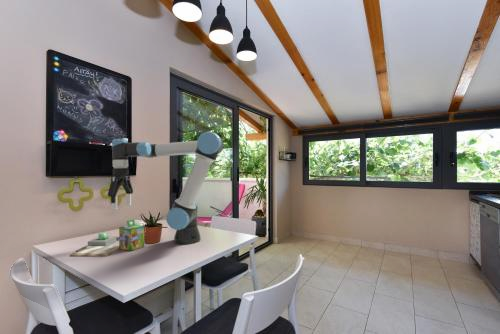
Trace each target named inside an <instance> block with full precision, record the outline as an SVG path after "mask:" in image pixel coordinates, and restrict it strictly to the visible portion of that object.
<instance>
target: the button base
mask: <svg viewBox="0 0 500 334" xmlns="http://www.w3.org/2000/svg"><path fill="white" fill-rule="evenodd" d="M114 242H115V243H116V242H117V236H110V235H109V236H107V239H106V240H98V236H97V237H95V238H93V239H90V240H88V241H87V246H108V245H109V246H111V245H112V243H113V244H114ZM110 244H111V245H110Z"/></svg>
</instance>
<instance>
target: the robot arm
mask: <svg viewBox="0 0 500 334" xmlns="http://www.w3.org/2000/svg"><path fill="white" fill-rule="evenodd" d="M224 145H225V144H224V140H223V139H222V138H221V137H220V136H219V135H218V134H217V133H215V132H213V131H206V132H202V133H201V134H200V135H199V136H198V138H197V140H190V141H178V142H177V141H176V142H175V141H174V142H164V143H154V144H153V143H152V144H151V143H149V142H145V141H140V142H136V141H135V142H128V139H126V138H114V139H112V143H111V151H112V167H113V168H112V177H111V178H110V179H111V180H110V185H109V188H108V192H107V197H110V203H111V204H110V206H111V207H110V208H111V211H112V210H118V196H117V194H118V191H119V189H120V187H123V189H124V191H125V195H124V196H125V206H126V207H127V206H132V194H133V193H134V189H133V185H132V183H131V177H130V176H128V175H129V174H130V173H129V172H130V171H129V157H143V158H149V159H151V158H157V157H158V158H159V157H168V156H169V157H170V156H171V157H172V156H181V155H182V156H183V155H195V159H194V162H193V163H192V166H191V169H190V171H189V173H188V175H187V179H186V181H185V183H184V185H183V188H182V191H181V193H180V195H179V197H178V198H177V199H175V200H174V203H173V204H172V207H171V209H170V210H169V211H168V212H167V214H166V217H165V220H166V223H167V225H168V226H169V227H170V228H171V229H173V230H175V234H174V237H173V241H174V242H173V243H175V244H178V245H190V244H195V243H198V242H200V241H201V233H200V231H199V227H198V208H199V206H198V203H197V199H198V196H199V194H200V191H201V189H202V187H203V184H204V182H205V179H206V177H207V174H208V172H209V169H210V167H211V165H212V163H214V162H215V161H216V159H217V158H218V155H219V154H221V152H222V151H223V149H224Z"/></svg>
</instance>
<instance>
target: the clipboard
mask: <svg viewBox="0 0 500 334" xmlns="http://www.w3.org/2000/svg"><path fill="white" fill-rule="evenodd" d="M118 250H120V249H119V245H117V246H116V245H113V246H112V245H109V246H88V245H87V246H84V247H81V248H79V249H76V250H75V251H74V252H72V253H70V254H69V256H70V257H107V256H109V255H111V254H112V253H114V252H116V251H118Z"/></svg>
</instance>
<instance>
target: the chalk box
mask: <svg viewBox="0 0 500 334" xmlns="http://www.w3.org/2000/svg"><path fill="white" fill-rule="evenodd" d="M134 220H135V219H133V218H132V219H129V220H127V221H126V225H125V226H120V227H119V228H118V235H119V236H118V237H119V239H118V244H119V245H118V246H119V249H118V250H122V251H129V252H132V251H134V250H138V249H140V248H141V249H142V248H144V247H145V234H144V233H145V225H143V226H141V225H135V221H134ZM130 222H133V224H132V225H130V224H129V223H130Z"/></svg>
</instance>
